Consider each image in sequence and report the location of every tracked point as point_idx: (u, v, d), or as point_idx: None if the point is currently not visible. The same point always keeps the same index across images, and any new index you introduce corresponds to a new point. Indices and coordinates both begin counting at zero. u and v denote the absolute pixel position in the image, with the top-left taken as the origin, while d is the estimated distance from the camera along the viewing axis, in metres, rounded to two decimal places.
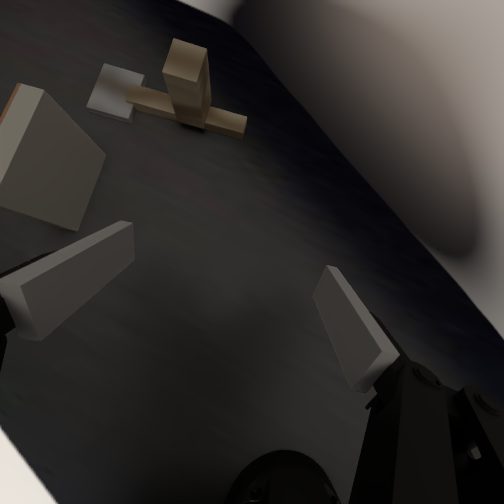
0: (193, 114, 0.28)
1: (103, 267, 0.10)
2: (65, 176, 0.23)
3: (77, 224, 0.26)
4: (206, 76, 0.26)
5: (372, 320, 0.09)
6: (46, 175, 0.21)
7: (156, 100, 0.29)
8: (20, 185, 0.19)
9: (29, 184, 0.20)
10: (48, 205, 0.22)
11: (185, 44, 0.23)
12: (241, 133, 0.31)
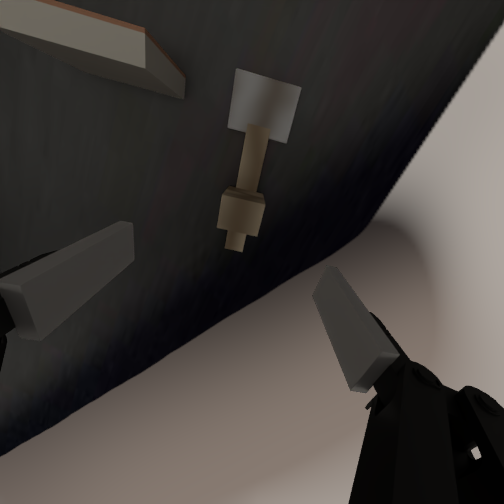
0: None
1: (103, 267, 0.10)
2: (108, 71, 0.20)
3: (89, 73, 0.23)
4: None
5: (372, 320, 0.09)
6: (81, 59, 0.18)
7: (251, 161, 0.27)
8: (37, 42, 0.16)
9: (50, 48, 0.17)
10: (62, 57, 0.19)
11: (259, 216, 0.23)
12: (225, 246, 0.32)
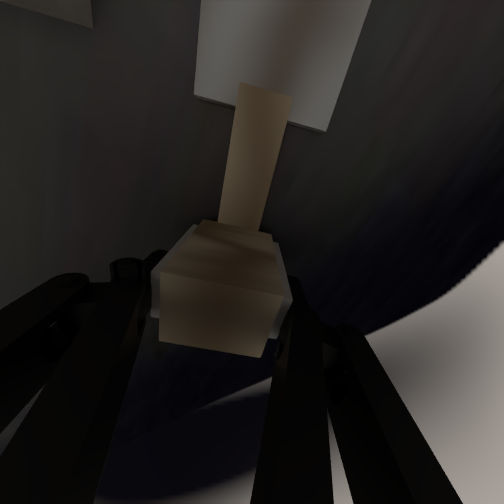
0: None
1: None
2: None
3: None
4: None
5: (284, 278, 0.10)
6: None
7: (248, 170, 0.12)
8: None
9: None
10: None
11: (266, 321, 0.09)
12: None
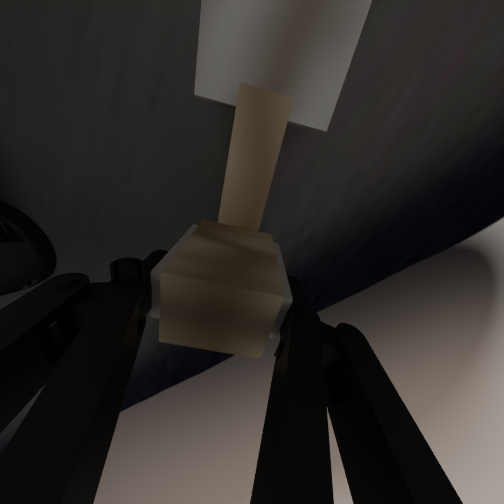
0: None
1: None
2: None
3: None
4: None
5: (284, 278, 0.10)
6: None
7: (248, 170, 0.12)
8: None
9: None
10: None
11: (266, 321, 0.09)
12: None
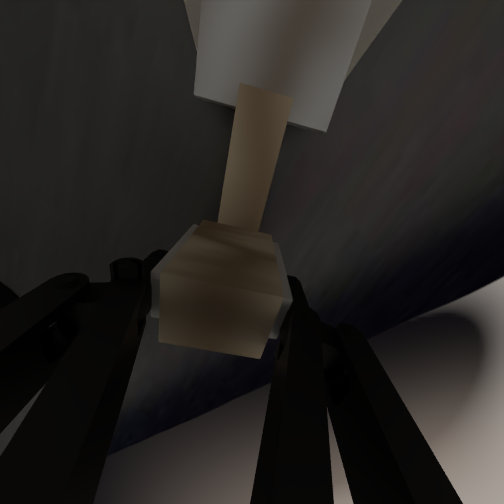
0: None
1: None
2: None
3: None
4: None
5: (284, 278, 0.10)
6: None
7: (248, 171, 0.12)
8: None
9: None
10: None
11: (266, 322, 0.09)
12: None
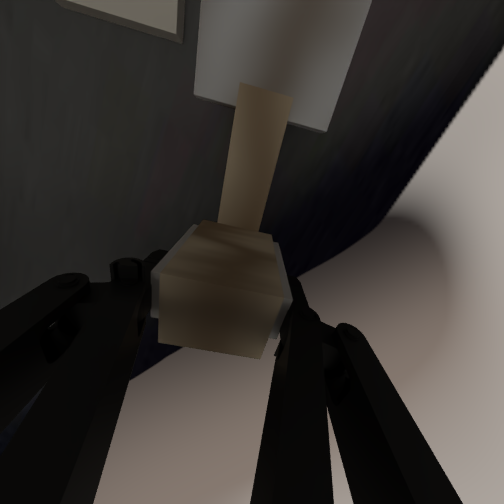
0: None
1: None
2: None
3: None
4: None
5: (284, 278, 0.10)
6: None
7: (248, 171, 0.12)
8: None
9: None
10: None
11: (266, 322, 0.09)
12: None
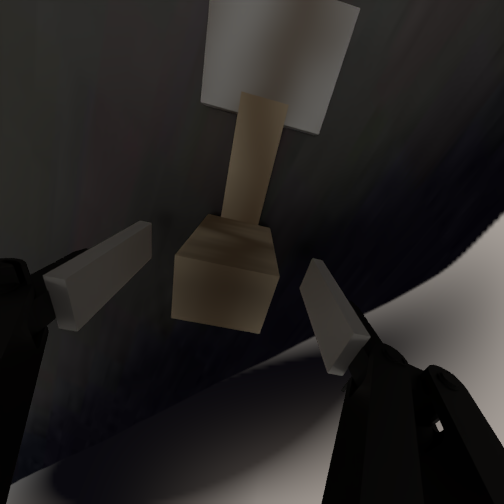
0: None
1: (127, 264, 0.11)
2: None
3: None
4: None
5: (349, 307, 0.09)
6: None
7: (248, 169, 0.14)
8: None
9: None
10: None
11: (264, 299, 0.10)
12: None
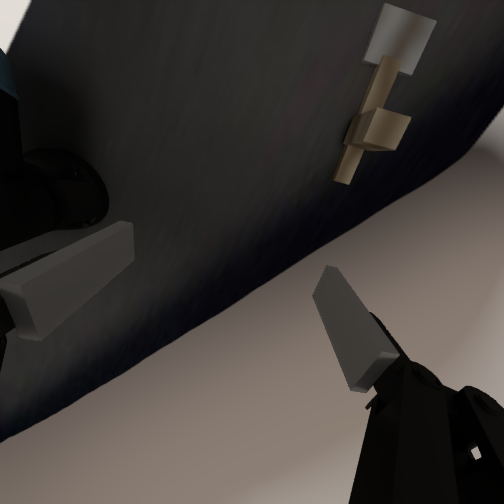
0: (351, 135, 0.31)
1: (103, 267, 0.10)
2: None
3: None
4: (378, 148, 0.30)
5: (372, 320, 0.09)
6: None
7: (378, 92, 0.31)
8: None
9: None
10: None
11: (402, 129, 0.27)
12: (334, 179, 0.36)
